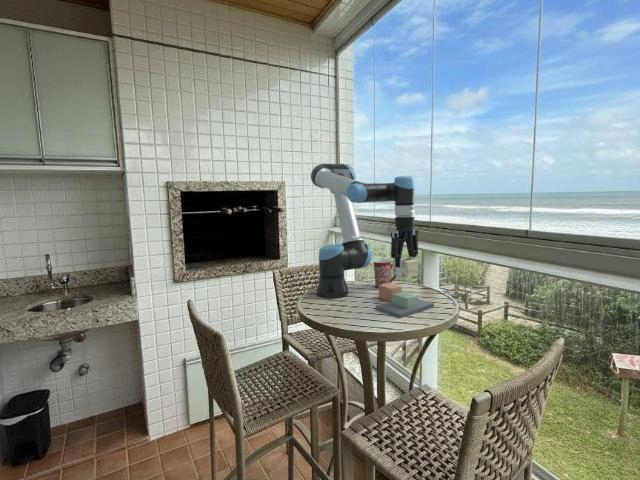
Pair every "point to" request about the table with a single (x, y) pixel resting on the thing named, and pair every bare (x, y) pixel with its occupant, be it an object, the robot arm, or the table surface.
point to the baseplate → (403, 310)
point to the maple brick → (407, 267)
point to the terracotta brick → (388, 291)
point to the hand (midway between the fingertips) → (405, 273)
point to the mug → (382, 272)
